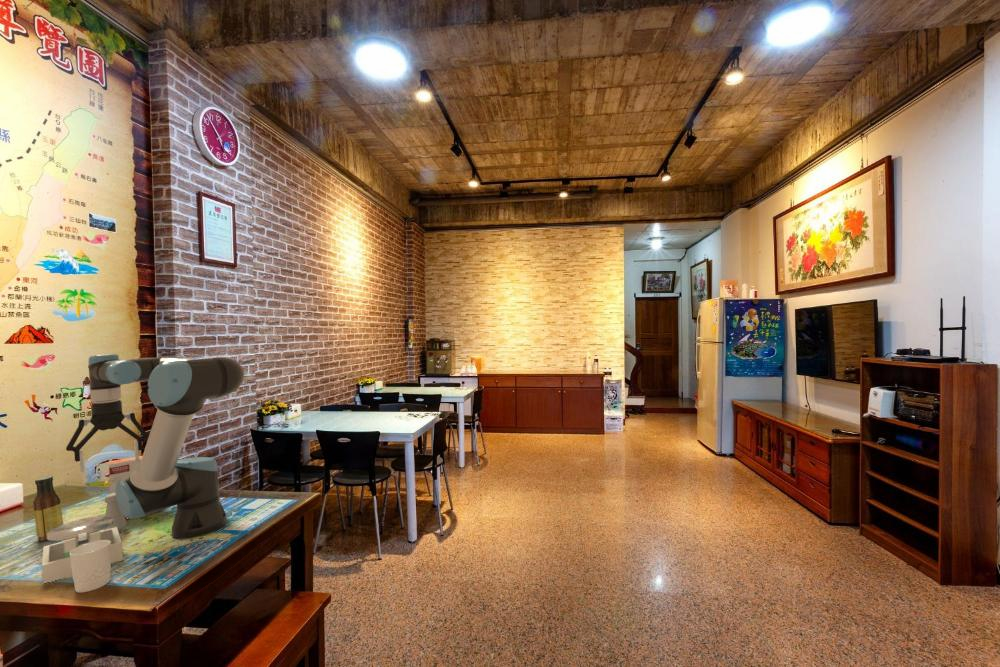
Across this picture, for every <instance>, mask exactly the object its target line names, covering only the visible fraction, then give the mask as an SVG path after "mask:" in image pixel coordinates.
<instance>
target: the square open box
mask: <svg viewBox="0 0 1000 667" xmlns="http://www.w3.org/2000/svg"><path fill="white" fill-rule="evenodd" d="M89 538H90V542H94V541H99V540H110V541H111V564H114V563H117V562H120V561H123V558H124V557H123V545H122V544H123V543H122V540H121V537H120V534H119V533H118V529H117V527H114V528H111V529H107V530H103V529H102V530H100V531H98V532H94V533H91V534H89ZM75 548H76V539H75V538H72V539H68V540H62V541H58V542H56V543H55V542H54V543H52V544H47V545H44V546H43V550H42V560H41V573H42V574H41V575H42V585H43V584H44V583H47V582H50V583H53V582H56V581H55V580H57V581H60V580H62V579H69V578H73V575H72V569H71V561H70V554H69V553H70V551H72V550H73V549H75ZM59 579H60V580H59ZM52 581H53V582H52ZM47 584H48V583H47ZM44 585H45V584H44Z"/></svg>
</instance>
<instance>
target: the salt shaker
mask: <svg viewBox="0 0 1000 667" xmlns="http://www.w3.org/2000/svg"><path fill="white" fill-rule="evenodd" d="M104 503H105V504H106V508H105V514H104V515H109V516H113V518H114V522H113V523H112V524H111V525H110V526H108V527H107V528H105V529H102V531H103V530H107V529H111V528H114V527H117V529H118V533H120V534H121V533H123V532H124V531H125V529H126V525H127V520H125V517H124V515H123V513H122V512H121V510H120V508H119V506H118V503H117V499H116V493H112V494H110V493H109V494H107V495H106V496H105V495H104ZM122 531H123V532H122Z"/></svg>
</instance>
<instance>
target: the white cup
mask: <svg viewBox="0 0 1000 667" xmlns="http://www.w3.org/2000/svg"><path fill="white" fill-rule="evenodd" d="M69 554H70V561H71V569H72V575H73V577H72V580H73V584H74V585H73V586H74V591H75V592H76V593H86V592H92V591H94V590H98V589H99V588H102V587H104V586H105V585H107V584H108V583H109V582H110V581H111V567H112V565H111V564H112V563H111V541H110V540H99V541H94V542H90V543H87V544H84V545H81V546H79V547H77V548H75V549H73V550H72V551H70V553H69Z"/></svg>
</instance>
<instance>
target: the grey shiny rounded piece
mask: <svg viewBox="0 0 1000 667" xmlns="http://www.w3.org/2000/svg"><path fill="white" fill-rule="evenodd" d="M113 522H114V518H113V516H109V515H105V514H103V515H101V514H100V515H95V516H87V517H83V518H80V519H76V520H72V521H69V522H66V523H63V525H61V526H58V527H56V528H54V529H52V530H51V531H49V532H48V533H47V539H48V540H47V541H51V542H62V541H65V540H68V539H72V538H75V539H76V548H77V547H79V546H81V545H84V544H87V543H90V538H89V534H91V533H94V532H98V531H103V529H105V528H107V527H108V526H110V525H111V524H112V523H113ZM87 538H88V542H87V543H83V544H80V545H78V540H79V541H82V540H86V539H87Z"/></svg>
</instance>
